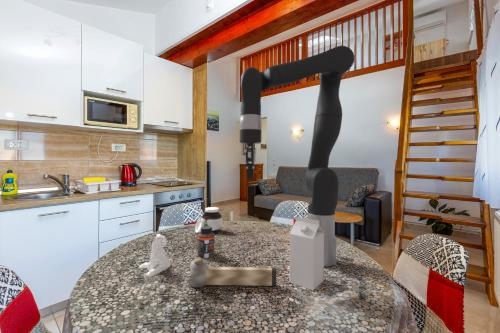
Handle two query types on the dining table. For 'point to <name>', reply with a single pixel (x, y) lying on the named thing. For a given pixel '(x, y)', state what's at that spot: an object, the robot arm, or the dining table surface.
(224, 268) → the dial lever
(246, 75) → the robot arm
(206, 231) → the supplement bottle
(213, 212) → the spread jar
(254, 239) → the dining table surface
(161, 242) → the white creature statuette
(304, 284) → the milk carton
